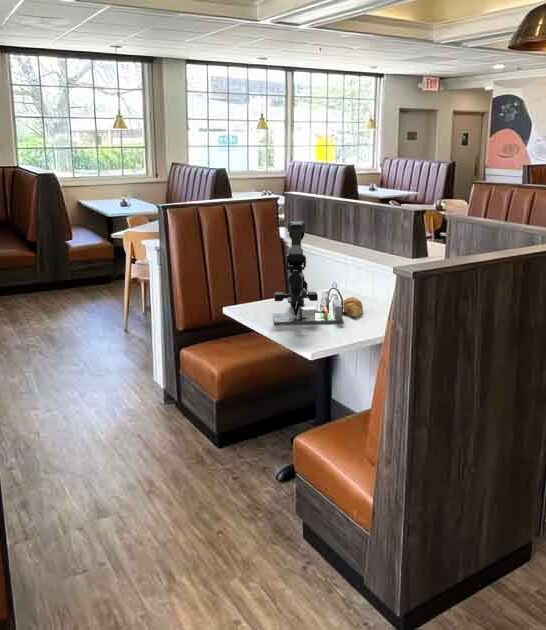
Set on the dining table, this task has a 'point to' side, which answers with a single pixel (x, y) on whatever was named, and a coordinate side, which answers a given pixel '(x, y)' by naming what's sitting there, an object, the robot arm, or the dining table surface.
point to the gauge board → (319, 319)
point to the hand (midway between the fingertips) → (295, 315)
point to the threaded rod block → (309, 312)
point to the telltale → (325, 312)
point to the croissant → (353, 306)
